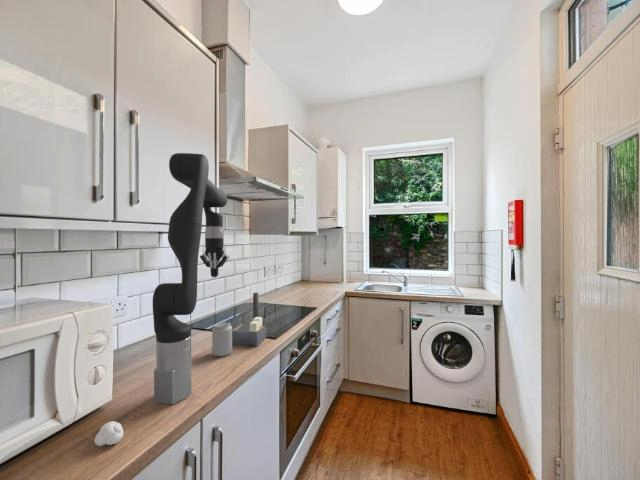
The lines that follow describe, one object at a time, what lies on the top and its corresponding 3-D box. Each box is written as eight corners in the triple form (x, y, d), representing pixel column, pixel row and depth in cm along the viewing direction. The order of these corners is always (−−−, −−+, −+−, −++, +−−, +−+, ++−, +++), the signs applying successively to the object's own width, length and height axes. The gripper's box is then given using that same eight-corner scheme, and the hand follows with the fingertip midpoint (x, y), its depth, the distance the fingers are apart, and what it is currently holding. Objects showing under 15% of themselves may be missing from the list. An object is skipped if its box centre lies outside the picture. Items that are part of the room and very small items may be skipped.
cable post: (258, 337, 134) (258, 294, 133) (249, 336, 135) (249, 293, 134) (262, 334, 138) (261, 292, 138) (253, 333, 139) (253, 291, 138)
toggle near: (256, 331, 123) (256, 323, 123) (249, 331, 123) (249, 323, 123) (259, 329, 126) (259, 321, 126) (252, 328, 127) (252, 320, 127)
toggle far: (259, 327, 129) (259, 319, 129) (253, 326, 129) (253, 319, 129) (262, 324, 132) (262, 317, 132) (256, 324, 133) (256, 316, 133)
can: (226, 358, 111) (226, 327, 111) (208, 356, 113) (208, 326, 112) (235, 350, 119) (235, 321, 118) (218, 349, 120) (218, 320, 120)
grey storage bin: (257, 346, 123) (257, 332, 122) (230, 344, 125) (230, 330, 124) (265, 338, 132) (265, 325, 132) (241, 336, 134) (241, 323, 134)
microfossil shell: (124, 422, 66) (118, 413, 70) (95, 434, 63) (91, 425, 67) (125, 441, 66) (120, 432, 70) (96, 455, 63) (92, 444, 66)
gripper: (195, 237, 123) (195, 277, 124) (224, 237, 121) (224, 278, 121) (205, 237, 131) (205, 275, 131) (232, 237, 128) (232, 276, 129)
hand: (214, 276), depth 126 cm, fingers closed
